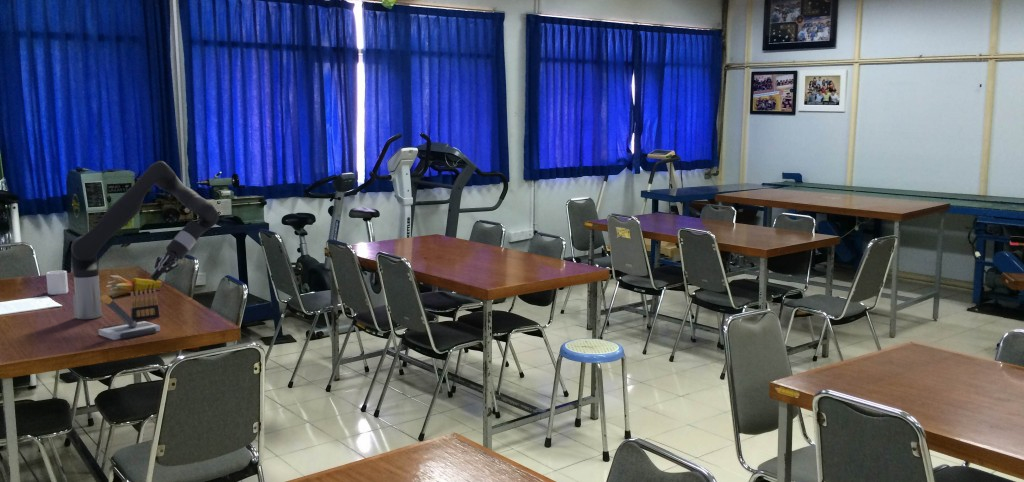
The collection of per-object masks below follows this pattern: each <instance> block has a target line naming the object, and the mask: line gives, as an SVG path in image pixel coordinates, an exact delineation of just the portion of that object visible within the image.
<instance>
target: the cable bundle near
mask: <svg viewBox="0 0 1024 482" xmlns="http://www.w3.org/2000/svg"><path fill="white" fill-rule="evenodd" d="M156 332H157V331H156V329H155V327H152V328H147V329H142V330H137V331H131V332H126V333H122V334H121V335H120V337H121V339H122V340H127V339H131V338H135V337H141V336H146V335H151V334H156Z"/></svg>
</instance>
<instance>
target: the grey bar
mask: <svg viewBox="0 0 1024 482" xmlns="http://www.w3.org/2000/svg"><path fill="white" fill-rule="evenodd" d="M134 321H135V322H137V320H134ZM126 324H127V323H125V322H123V323H119V324H113V325H108V326H103V327H102V328H101V329H104V328H110V327H115V326H121V325H126Z"/></svg>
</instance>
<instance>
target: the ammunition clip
mask: <svg viewBox="0 0 1024 482" xmlns="http://www.w3.org/2000/svg"><path fill="white" fill-rule="evenodd" d="M143 292H144V293H143ZM157 296H158V295H157V290H156V289H155V288H154V289H153V290H151V289H149V290H147V291H146V289H145V291H142V290H140V292H139V293H138V292H137V290H136V293H135V294H133V291H131V292H130V317H131V318H132V319H133V320H134V321H139V320H147V319H154V318H160V310H159V303H158V297H157Z"/></svg>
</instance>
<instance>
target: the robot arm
mask: <svg viewBox="0 0 1024 482" xmlns="http://www.w3.org/2000/svg"><path fill="white" fill-rule="evenodd" d="M154 185H155V186H156V187H157V188H159V189H161V190H162V191H165V192H167V193H168V194H171V196H173V197H175V198H176V200H178V201H179V202H180V203H181V204H182V205H183V206H184V207H185V208H187V209H188V210H189V211H190V212H194V213H195V215H197V217H198V218H199V219H198V221H196V220H195V221H194V220H189V221H188V222H187V223H186V225H185V226H184V227H182V229H181V230H180V231H179V232H178V233H177V234H176V235H175V237H174V238H172V240H171V241H170V243H169V244H168V245H167V246H166V248H165V249H166V251H167V252H165V253H164V254H162V255H163V256H162V257H160V256H158V257H157V258H156V259H155V260H156V261H155V263H154V269H155V271H154V272H153V273H152V274H151V276H150V278H149V279H150V280H154V281H157V280H158V279H160V277H161V276H162V275H164V274H168V273H169V272H171V271H172V270H174V269H175V268H177V267H178V266H179V264H178V261H179V260H181V261H182V260H183V259H184V258H185V256H186V255H188V253H189V252H190V251H191V250H192V248H193V247H194V245H196V242H197V241H198V240H199V238H200V237H201V236H202V235H203V234H204V233H206V232H207V231H208V230H210V229H211V228H212V227H214V226H215V225H216V224H217V223H218V221H219V218H220V215H219V212H218V211H217V209H216V207H214V205H213V204H212V203H211V202H210V201H209V200H207V199H205V198H204V197H202V196H201V195H200V194H199V193H198V192H196V191H195V190H193V189H192V188H190V187H188V186H186V185H185V184H184V183H183V182H182V181H181V180H180V178H179V177H178V176H177V174H176V173H175V171H174V170H173V169H172V168H171V167H170V166H169V165H168V164H167V163H166V162H165V161H163V160H158V161H155V162H154V163H152V164H151V165H150V166H149V167H147V169H146V170H145V171H144V172H143V173H142V175H140V177H139V178H138V179H137V181H136V182H134V184H132V186H131V187H130V188H129V189H127V190H126V192H125V193H124V194H123V195H121V197H119V198H118V199H117V200H116V201H115V202H114V203H113V204H112V205H110V207H109V208H108V209H107V211H105V212H104V214H103V215H102V216H101V218H100V220H99V221H98V222H97V223H96V225H95V226H93V228H92V229H90V230H89V231H88V232H87V233H85V234H84V235H80V236H78V237H76V238H75V239H74V240H73V241H72V242H71V246H70V254H71V263H72V271H73V273H72V274H73V281H74V294H73V295H72V300H73V313H74V319H78V320H93V319H98V318H102V316H103V315H102V300H100V299H99V298H100V297H101V289H100V287H101V286H100V275H99V273H100V272H99V265H98V256H97V254H98V252H99V251H100V250H101V249H102V247H104V245H105V244H106V243H107V242H108V241H109V240H110V239H111V238H112V237H113V236H114V235H116V234H117V233H118V232H119V231H120V230H121V229H123V228H124V227H126V225H127V224H128V223H130V221H131V220H133V219H134V218H135V216H137V214H138V213H139V211H140V210H141V207H142V205H143V201H144V199H145V196H146V194H147V192H148V191H149V190H150V189H151V188H152V187H153V186H154Z"/></svg>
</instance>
